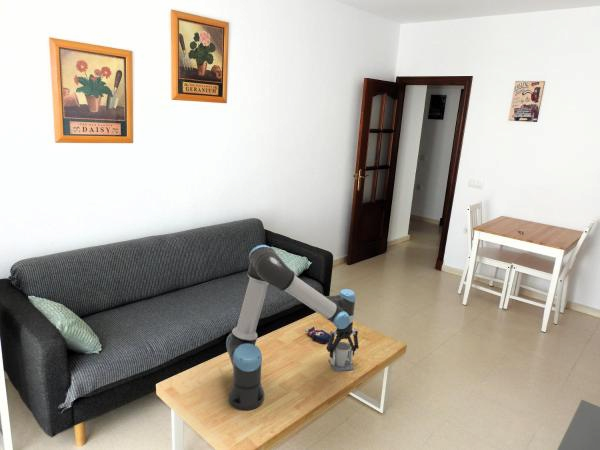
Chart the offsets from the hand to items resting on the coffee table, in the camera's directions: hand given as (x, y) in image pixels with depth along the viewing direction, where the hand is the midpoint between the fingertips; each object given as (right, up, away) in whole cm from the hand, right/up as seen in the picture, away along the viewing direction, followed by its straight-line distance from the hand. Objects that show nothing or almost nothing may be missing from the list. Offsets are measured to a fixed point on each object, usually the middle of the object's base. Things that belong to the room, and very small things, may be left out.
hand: (341, 362), depth 218 cm
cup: (0, -1, 0) cm, 1 cm away
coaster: (0, -2, +1) cm, 2 cm away
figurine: (-11, +5, +25) cm, 28 cm away
